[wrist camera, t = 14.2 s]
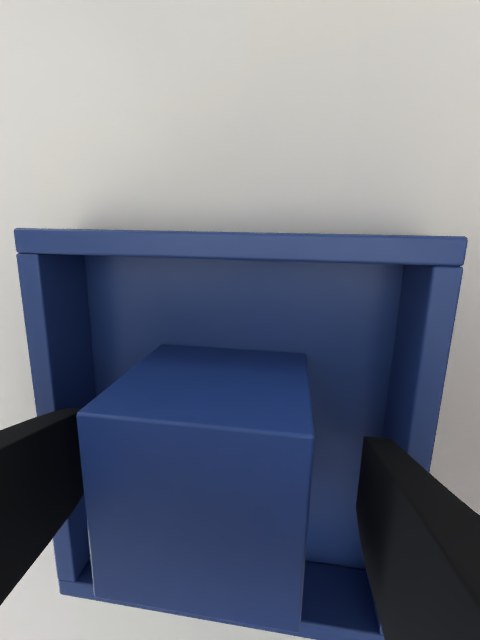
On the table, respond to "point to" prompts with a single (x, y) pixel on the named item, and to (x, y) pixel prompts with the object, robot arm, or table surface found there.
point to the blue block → (202, 484)
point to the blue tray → (262, 335)
